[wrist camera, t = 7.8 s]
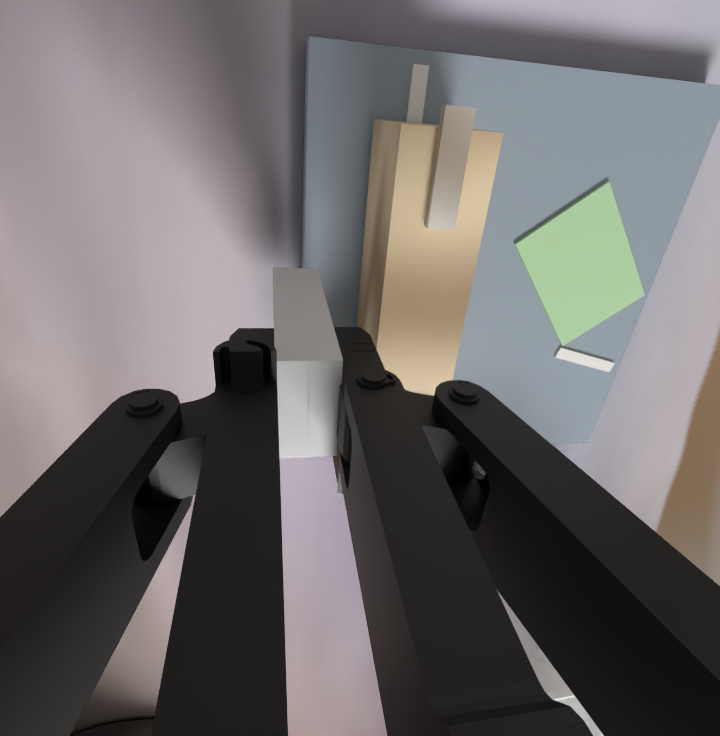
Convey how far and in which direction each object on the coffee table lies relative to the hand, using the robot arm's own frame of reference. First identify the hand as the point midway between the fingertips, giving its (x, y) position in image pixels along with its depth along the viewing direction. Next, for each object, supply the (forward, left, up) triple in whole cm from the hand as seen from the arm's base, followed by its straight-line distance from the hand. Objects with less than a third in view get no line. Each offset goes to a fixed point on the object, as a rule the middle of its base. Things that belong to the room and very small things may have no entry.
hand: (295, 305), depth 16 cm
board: (+8, 0, -3) cm, 8 cm away
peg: (+4, 0, -1) cm, 4 cm away
